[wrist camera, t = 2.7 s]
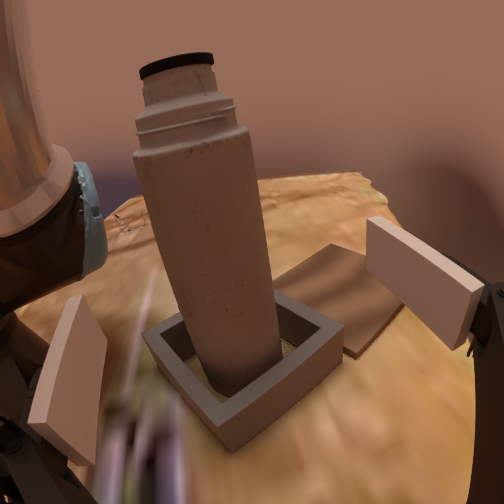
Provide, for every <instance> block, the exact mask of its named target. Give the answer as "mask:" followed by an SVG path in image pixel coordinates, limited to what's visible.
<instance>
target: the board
mask: <svg viewBox="0 0 504 504" xmlns="http://www.w3.org/2000/svg"><path fill="white" fill-rule="evenodd" d="M272 283H273V288H274V289H276V290H278V291H280V292H282V293H284V294H286V295H287V296H289V297H291V298H293V299H295V300H297V301H299V302H301V303H302V304H304V305H306V306H308V307H310V308H312V309H314V310H316V311H318V312H319V313H321V314H323V315H325V316H327V317H329V318H331V319H333V320H335V321H336V322H338V323H340V324H342V325H344V326H345V327H344V344H343V353H345V354H347V355H349V356H350V357H352V358H354V359H357V358H358V357H359V356H360V355H361V354H362V353H363V352H364V351H365V349H366V348H367V347H368V346H369V345H370V344H371V343H372V342H373V341H374V340H375V339H376V338H377V336H378V335H379V334H380V333H381V332H382V331H383V330H384V329H385V327H386V326H387V325H388V324H389V323H390V322H391V320H392V319H393V318H394V317H395V316H396V315H397V313H398V312H399V311H400V310H401V309H402V307H403V306H404V305H405V304H404V303H403V302H401V301H400V300H399V299H398V298H397V297H396V296H395V295H394V294H393V293H392V292H391V291H390V290H389V289H388V288H386V287H385V286H384V285H383V284H382V283H381V282H380V281H379V280H378V279H377V278H375V277H374V276H373V275H372V274H371V273H370V272H369V271H368V270H367V269H366V256H365V255H362V254H359V253H356V252H353V251H351V250H348V249H345V248H342V247H339V246H336V245H334V244H329V245H328V246H326V247H325V248H323V249H322V250H320V251H319V252H317V253H315V254H314V255H312V256H311V257H309V258H308V259H306V260H305V261H303V262H302V263H300V264H299V265H297V266H295V267H294V268H292V269H291V270H289V271H288V272H286V273H284V274H283V275H281V276H280V277H278V278H277V279H275V280H273V281H272Z"/></svg>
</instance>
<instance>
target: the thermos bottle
mask: <svg viewBox="0 0 504 504" xmlns="http://www.w3.org/2000/svg"><path fill="white" fill-rule="evenodd" d="M213 64H214V59H213V55H212V54H211V53H207V52H205V53H204V52H198V53H188V54H181V55H176V56H172V57H168V58H164V59H161V60H158V61H155V62H152V63H150V64H148V65H146V66H144V67H142V68H141V69H140V70H139V73H140V78H141V80H143V83H144V87H143V89H142V90H143V96H144V102H145V109H144V110H143V111H142V112H141V113H140V114H139V116H138V117H137V118H136V119H135V123H136V127H137V132H136V135H138V137H139V141H140V148H139V149H138V150H137V151H136V152H134V154H133V155H132V156H133V161H134V165H135V169H136V172H137V177H138V180H139V184H140V187H141V190H142V193H143V196H144V200H145V203H146V206H147V210H148V213H149V217H150V221H151V224H152V228H153V232H154V235H155V239H156V242H157V245H158V248H159V251H160V254H161V257H162V260H163V263H164V266H165V269H166V272H167V275H168V278H169V281H170V284H171V287H172V290H173V292H174V295H175V298H176V301H177V303H178V306H179V309H180V312H181V314H182V317H183V320H184V322H185V325H186V327H187V330H188V333H189V335H190V338H191V340H192V343H193V345H194V348H195V350H196V353H197V355H198V357H199V360H200V362H201V365H202V367H203V369H204V372H205V374H206V376H207V379H208V381H209V383H210V385H211V386H212V387H213V388H214V389H215V390H217V391H218V392H219V393H221V394H224V395H226V396H229V397H232V396H234V395H235V394H237V393H238V392H239V391H241V390H242V389H244V388H245V387H246V386H248V385H249V384H251V383H252V382H253V381H255V380H256V379H257V378H259V377H260V376H261V375H263V374H264V373H265V372H267V371H268V370H269V369H271V368H272V367H273V366H275V365H276V364H277V363H279V362H280V361H281V360H282V359H283V355H282V348H281V341H280V333H279V326H278V319H277V312H276V304H275V297H274V290H273V283H272V276H271V269H270V262H269V256H268V249H267V242H266V235H265V229H264V222H263V215H262V209H261V202H260V196H259V189H258V183H257V177H256V170H255V164H254V158H253V151H252V145H251V139H250V133H249V129H248V128H247V127H244V126H240V125H238V124H237V120H236V115H235V109H236V108H237V107H236V106H234V103H233V98H232V97H230V96H228V95H226V94H223V93H221V92H219V91H218V88H217V83H216V77H215V74H214V72H213V71H212V69H211V65H213Z"/></svg>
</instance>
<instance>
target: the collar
mask: <svg viewBox="0 0 504 504" xmlns="http://www.w3.org/2000/svg"><path fill="white" fill-rule="evenodd" d="M273 290H274V297H275V304H276V312H277V319H278V326H279V333H280V337H282V338H283V339H285V340H286V341H288V342H289V343H291V344H292V345H294V346H295V347H297V348H296V349H295V350H294V351H293V352H291V353H290V354H289V355H288V356H286V357H285V358H284V359H282V360H281V361H280V362H279V363H277V364H276V365H275V366H273V367H272V368H271V369H269V370H268V371H267V372H265V373H264V374H263V375H261V376H260V377H259V378H257V379H256V380H255V381H253V382H252V383H251V384H249V385H248V386H246V387H245V388H244V389H242V390H241V391H239V392H238V393H237V394H235V395H234V396H232V397H231V398H229V399H228V400H227V401H225V402H224V403H221V402H220V401H219V400H218V399H217V398H216V397H215V396H214V395H213V394H212V393H211V392H210V391H209V390H208V389H207V388H206V387H205V386H204V384H203V383H202V382H201V381H200V380H199V379H198V378H197V377H196V376H195V375H194V374H193V373H192V371H191V370H190V369H189V368H188V367H187V366H186V365H185V364H184V362H183V361H184V360H186V359H187V358H189V357H190V356H192V355H194V354H195V353H196V350H195V348H194V345H193V343H192V340H191V338H190V335H189V333H188V330H187V327H186V325H185V322H184V320H183V317H182V314H181V312H179V313H177V314H175V315H173V316H172V317H170V318H168V319H166V320H164V321H163V322H161V323H159V324H157V325H156V326H154V327H152V328H150V329H148V330H147V331H145V332H143V333H141V334H142V336H143V338H144V340H145V342H146V344H147V346H148V348H149V350H150V352H151V354H152V356H153V357H154V359H155V361H156V363H157V365H158V366H159V368H160V369H161V370H162V372H163V373H164V374H165V376H166V377H167V378H168V379H169V381H170V382H171V383H172V385H173V386H174V387H175V388H176V390H177V391H178V392H179V393H180V395H181V396H182V397H183V398H184V400H185V401H186V402H187V403H188V404H189V406H190V407H191V408H192V409H193V410H194V412H195V413H196V414H197V415H198V416H199V417H200V419H201V420H202V421H203V422H204V423H205V424H206V425H207V427H208V428H209V429H210V430H211V431H212V432H213V433H214V434H215V435H216V437H217V438H218V439H219V440H220V441H221V442H222V443H223V444H224V445H225V446H226V447H227V448H228V449H229V450H230V451H231V452H234V451H235V450H237V449H238V448H239V447H241V446H242V445H244V444H245V443H246V442H248V441H249V440H250V439H252V438H253V437H254V436H256V435H257V434H258V433H260V432H261V431H262V430H264V429H265V428H266V427H267V426H269V425H270V424H271V423H273V422H274V421H275V420H276V419H278V418H279V417H280V416H281V415H282V414H284V413H285V412H286V411H287V410H288V409H290V408H291V407H292V406H293V405H294V404H296V403H297V402H298V401H299V400H300V399H301V398H303V397H304V396H305V395H306V394H307V393H308V392H309V391H311V390H312V389H313V388H314V387H315V386H316V385H317V384H318V383H319V382H321V381H322V380H323V379H324V378H325V377H326V376H327V375H328V374H329V373H330V372H331V371H332V370H333V369H335V368H336V367H337V366H338V365H339V364H340V363H341V362H342V357H343V344H344V327H345V326H344V325H342V324H340V323H338V322H336V321H335V320H333V319H331V318H329V317H327V316H325V315H323V314H321V313H319V312H318V311H316V310H314V309H312V308H310V307H308V306H306V305H304V304H302V303H301V302H299V301H297V300H295V299H293V298H291V297H289V296H287V295H286V294H284V293H282V292H280V291H278V290H276V289H274V288H273ZM178 308H179V306H178ZM179 311H180V309H179Z"/></svg>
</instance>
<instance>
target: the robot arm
mask: <svg viewBox="0 0 504 504" xmlns="http://www.w3.org/2000/svg"><path fill="white" fill-rule="evenodd" d="M107 256H108V244H107V237H106V231H105V226H104V221H103V217H102V214H101V212H100V206H99V200H98V195H97V191H96V188H95V184H94V181H93V178H92V175H91V172H90V170H89V167H88V166H87V164H86V163H84V162H73V160H72V157H71V155H70V154H69V152H68V151H66V149H64V148H62V147H60V146H57V145H54V144H51V142H50V137H49V133H48V130H47V126H46V122H45V118H44V113H43V109H42V105H41V101H40V95H39V90H38V85H37V80H36V74H35V68H34V62H33V55H32V48H31V40H30V30H29V19H28V1H27V0H0V504H98V503H97V502H96V501H95V500H94V498H93V497H92V496H91V495H90V493H89V492H88V491H87V490H86V489H85V487H84V486H83V485H82V483H81V482H80V481H79V479H78V478H77V477H76V476H75V474H74V473H73V471H72V470H70V469H69V468H68V467H67V462H68V459H69V460H70V461H71V462H73V463H74V464H75V465H77V466H95V456H96V437H97V423H98V412H99V402H100V392H101V384H102V376H103V369H104V362H105V356H106V349H107V343H108V340H107V338H106V337H105V335H104V333H103V331H102V330H101V328H100V326H99V324H98V322H97V321H96V319H95V317H94V315H93V313H92V311H91V309H90V307H89V305H88V303H87V301H86V299H85V297H84V295H83V294H81V295H77V296H74V297H70V298H68V301H67V303H66V306H65V308H64V310H63V313H62V315H61V318H60V320H59V323H58V326H57V328H56V331H55V333H54V336H53V339H52V342H51V344H50V345H49V344H48V343H47V342H46V341H45V340H43V339H42V338H41V337H39V336H38V335H37V334H36V333H35V332H33V331H32V330H31V329H30V328H29V327H27V326H26V325H25V324H24V323H23V322H22V321H20V320H19V318H18V317H17V315H16V314H15V312H14V310H16V309H18V308H20V307H22V306H24V305H26V304H29V303H31V302H33V301H35V300H37V299H39V298H41V297H44V296H46V295H48V294H50V293H52V292H54V291H57V290H59V289H61V288H63V287H65V286H68V285H70V284H72V283H74V282H76V281H81V280H82V279H83V278H84V277H85V276H86V275H88V274H90V273H92V272H94V271H96V270H98V269H99V268H101V267H102V266H103V265H104V264H105V262H106V259H107ZM366 269H367V270H368V271H369V272H370V273H371V274H372V275H373V276H374V277H375V278H377V279H378V280H379V281H380V282H381V283H382V284H383V285H384V286H385V287H386V288H388V289H389V290H390V291H391V292H392V293H393V294H394V295H395V296H396V297H397V298H398V299H399V300H400V301H401V302H403V303H404V304H405V305H406V306H407V307H408V308H409V309H410V310H411V311H412V312H413V313H414V314H415V315H416V316H417V317H418V318H419V319H420V320H421V321H422V322H423V323H424V324H425V325H426V326H427V327H429V328H430V329H431V330H432V331H433V332H434V333H435V334H436V335H437V336H438V337H439V338H440V339H441V340H442V341H443V342H444V343H445V344H446V345H447V346H448V347H449V348H450V350H451V351H454V350H455V349H457V348H458V347H460V346H461V345H463V344H464V343H465V342H466V339H467V336H468V334H469V331H470V332H471V333H472V334H473V335H474V337H473V340H472V342H471V345H470V347H469V350H468V352H467V357H469V356H470V353H471V351H472V350H473V356H472V357H474V371H475V396H476V418H475V442H474V455H473V465H472V474H471V481H470V488H469V494H468V499H467V503H466V504H504V283H503V282H499V283H495V284H493V285H491V284H490V283H489V282H487V281H486V280H485V279H483V278H482V277H480V276H479V275H478V274H476V273H475V272H473V271H472V270H471V269H468V268H467V267H466V266H465V265H463V264H461V263H460V262H459V261H458V260H456V259H454V258H453V257H451V256H449V255H446V254H443V253H439V252H437V251H436V250H434V249H433V248H431V247H430V246H428V245H427V244H425V243H424V242H422V241H421V240H419V239H417V238H416V237H414V236H413V235H411V234H409V233H408V232H406V231H405V230H403V229H401V228H400V227H398V226H397V225H395V224H393V223H392V222H390V221H388V220H387V219H385V218H383V217H382V216H380V215H378V216H374V217H370V218H367V231H366ZM4 495H5V496H7V497H8V503H7V502H6V501H5V497H4Z"/></svg>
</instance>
